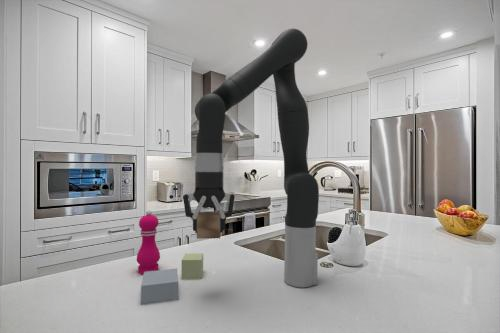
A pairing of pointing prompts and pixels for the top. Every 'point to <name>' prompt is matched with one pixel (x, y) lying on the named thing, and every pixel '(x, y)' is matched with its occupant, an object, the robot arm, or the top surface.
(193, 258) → the olive block
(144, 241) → the pepper mill
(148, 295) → the slate base block
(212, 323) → the top surface
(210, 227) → the walnut block
